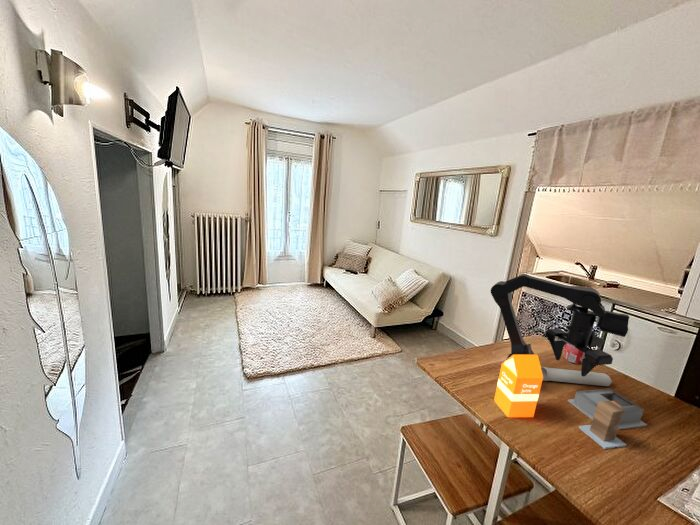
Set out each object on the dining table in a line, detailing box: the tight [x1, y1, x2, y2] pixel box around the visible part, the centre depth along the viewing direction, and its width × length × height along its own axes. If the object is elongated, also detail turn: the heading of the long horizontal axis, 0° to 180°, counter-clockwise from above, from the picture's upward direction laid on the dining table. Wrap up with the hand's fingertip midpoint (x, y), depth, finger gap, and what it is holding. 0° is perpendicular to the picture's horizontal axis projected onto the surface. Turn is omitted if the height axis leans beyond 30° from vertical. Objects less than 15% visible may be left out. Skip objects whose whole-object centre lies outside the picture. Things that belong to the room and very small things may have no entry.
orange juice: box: [493, 354, 544, 418], centre depth 89 cm, size 8×9×20 cm
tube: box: [541, 366, 613, 387], centre depth 108 cm, size 5×5×25 cm
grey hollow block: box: [567, 388, 648, 431], centre depth 92 cm, size 16×13×5 cm
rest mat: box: [578, 424, 627, 450], centre depth 82 cm, size 8×8×1 cm
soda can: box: [562, 343, 585, 365], centre depth 122 cm, size 7×7×12 cm
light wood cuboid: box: [590, 401, 624, 441], centre depth 81 cm, size 4×4×10 cm
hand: (569, 367), depth 94 cm, fingers open, 9 cm apart
